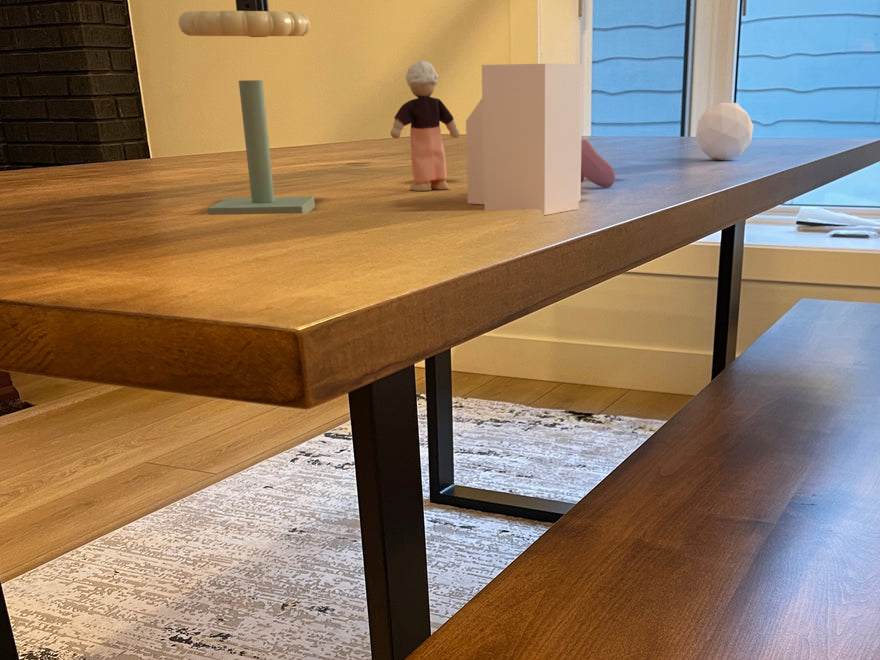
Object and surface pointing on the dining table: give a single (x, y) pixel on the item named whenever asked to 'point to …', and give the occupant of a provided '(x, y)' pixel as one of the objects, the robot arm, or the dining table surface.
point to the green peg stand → (259, 163)
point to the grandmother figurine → (425, 128)
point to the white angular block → (526, 138)
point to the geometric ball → (724, 131)
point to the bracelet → (244, 23)
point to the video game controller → (595, 166)
